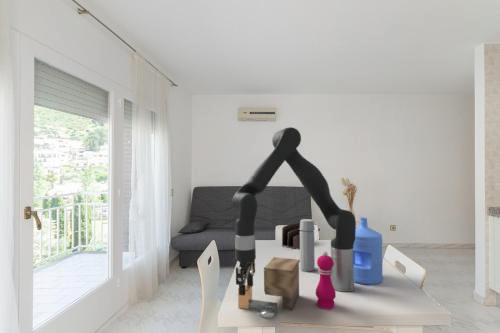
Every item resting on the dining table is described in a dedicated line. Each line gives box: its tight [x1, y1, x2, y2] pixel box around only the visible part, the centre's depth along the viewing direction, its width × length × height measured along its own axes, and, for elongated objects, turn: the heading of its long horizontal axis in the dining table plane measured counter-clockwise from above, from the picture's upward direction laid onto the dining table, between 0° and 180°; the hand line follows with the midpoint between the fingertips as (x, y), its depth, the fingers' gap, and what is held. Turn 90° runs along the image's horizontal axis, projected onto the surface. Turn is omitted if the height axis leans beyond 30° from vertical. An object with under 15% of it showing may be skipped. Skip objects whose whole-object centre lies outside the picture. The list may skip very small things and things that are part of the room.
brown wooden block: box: [263, 257, 300, 311], centre depth 118 cm, size 11×15×14 cm
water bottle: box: [299, 218, 316, 273], centre depth 156 cm, size 9×8×25 cm
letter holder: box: [281, 223, 301, 250], centre depth 206 cm, size 10×20×14 cm, turn 135°
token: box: [259, 308, 276, 320], centre depth 107 cm, size 5×5×2 cm
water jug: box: [353, 217, 384, 286], centre depth 141 cm, size 16×16×28 cm
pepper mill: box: [315, 251, 337, 310], centre depth 114 cm, size 7×7×20 cm
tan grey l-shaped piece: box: [237, 284, 278, 313], centre depth 112 cm, size 14×4×7 cm, turn 71°
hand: (246, 290), depth 114 cm, fingers open, 8 cm apart
